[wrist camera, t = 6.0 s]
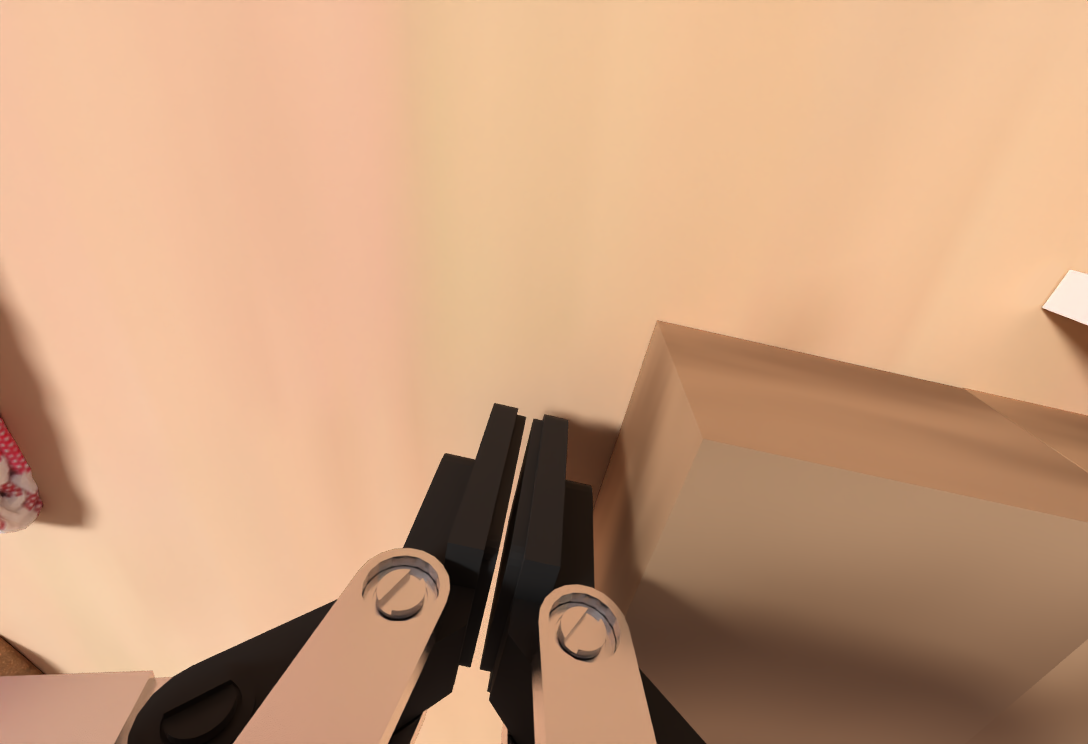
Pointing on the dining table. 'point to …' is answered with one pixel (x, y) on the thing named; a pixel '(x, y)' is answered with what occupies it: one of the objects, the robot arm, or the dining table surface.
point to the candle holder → (14, 662)
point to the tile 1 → (834, 547)
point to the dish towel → (16, 487)
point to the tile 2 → (1084, 676)
